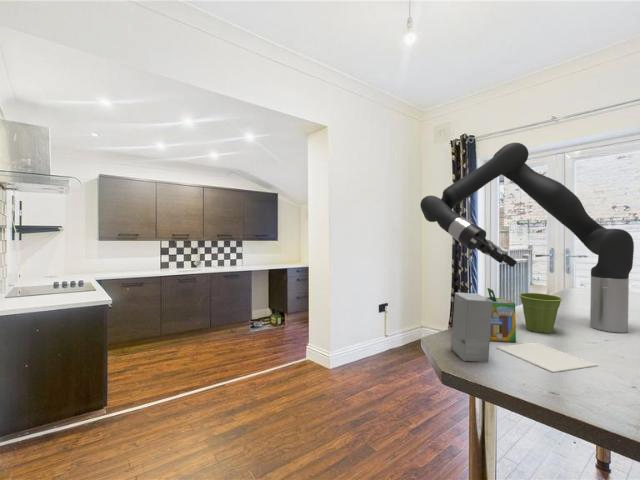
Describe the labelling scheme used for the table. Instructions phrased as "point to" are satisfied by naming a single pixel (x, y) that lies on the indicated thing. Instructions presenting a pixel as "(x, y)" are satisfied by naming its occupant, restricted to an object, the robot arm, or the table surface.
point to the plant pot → (540, 311)
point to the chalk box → (502, 319)
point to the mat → (546, 357)
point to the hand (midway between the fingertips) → (509, 262)
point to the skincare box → (471, 326)
